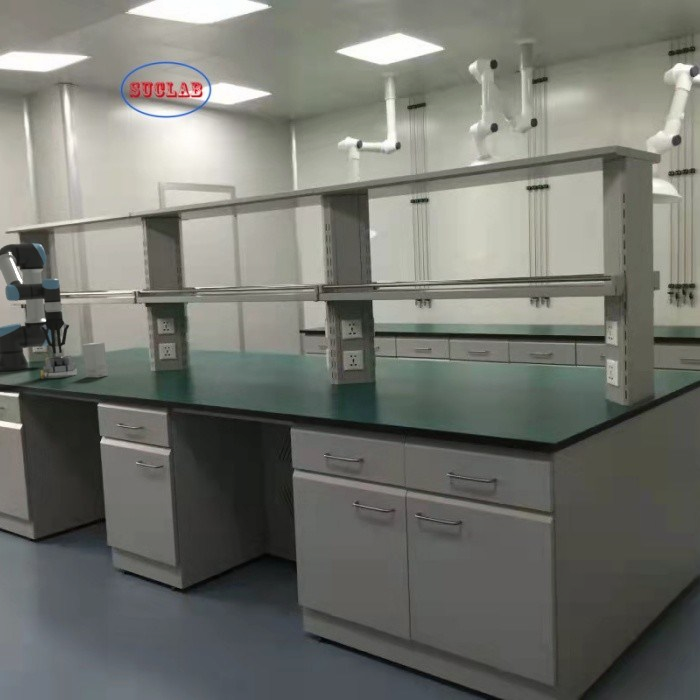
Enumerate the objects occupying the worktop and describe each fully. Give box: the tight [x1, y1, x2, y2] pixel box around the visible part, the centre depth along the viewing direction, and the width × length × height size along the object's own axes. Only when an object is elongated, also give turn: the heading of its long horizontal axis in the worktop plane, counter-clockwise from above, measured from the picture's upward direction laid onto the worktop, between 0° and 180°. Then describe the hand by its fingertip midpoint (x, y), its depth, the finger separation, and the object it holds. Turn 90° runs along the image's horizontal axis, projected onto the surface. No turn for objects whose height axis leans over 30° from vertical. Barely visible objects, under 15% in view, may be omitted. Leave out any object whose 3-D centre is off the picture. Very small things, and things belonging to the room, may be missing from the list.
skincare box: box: [82, 342, 109, 379], centre depth 352 cm, size 8×7×16 cm
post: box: [40, 369, 46, 380], centre depth 354 cm, size 2×2×4 cm
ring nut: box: [43, 355, 77, 372], centre depth 361 cm, size 14×14×6 cm
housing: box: [44, 355, 78, 379], centre depth 361 cm, size 15×15×9 cm
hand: (58, 360), depth 366 cm, fingers closed
